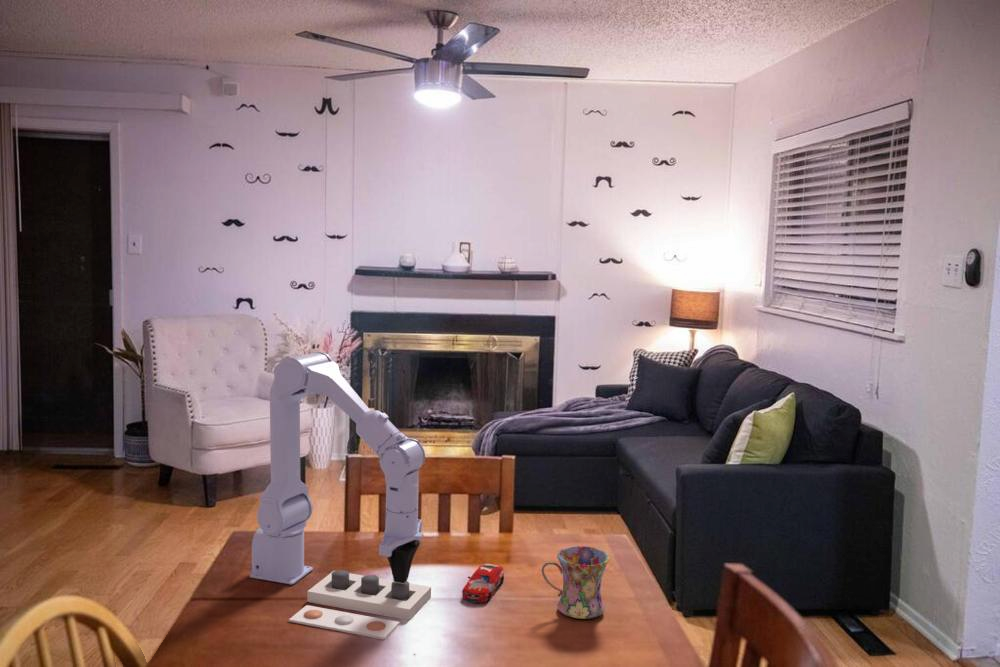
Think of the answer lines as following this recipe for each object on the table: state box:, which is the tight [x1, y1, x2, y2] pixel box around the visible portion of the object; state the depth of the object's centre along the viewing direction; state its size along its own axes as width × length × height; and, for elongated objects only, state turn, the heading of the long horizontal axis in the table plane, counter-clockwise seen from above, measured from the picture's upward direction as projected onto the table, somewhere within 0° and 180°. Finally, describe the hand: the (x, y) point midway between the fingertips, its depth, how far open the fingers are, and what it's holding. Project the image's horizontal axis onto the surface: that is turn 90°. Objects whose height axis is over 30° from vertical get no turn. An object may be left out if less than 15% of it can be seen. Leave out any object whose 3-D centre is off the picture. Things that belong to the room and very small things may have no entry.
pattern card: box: [288, 604, 400, 641], centre depth 152 cm, size 18×6×1 cm, turn 73°
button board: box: [306, 570, 432, 621], centre depth 162 cm, size 20×10×2 cm, turn 73°
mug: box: [541, 545, 610, 620], centre depth 159 cm, size 12×9×11 cm
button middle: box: [361, 574, 380, 596], centre depth 161 cm, size 3×3×2 cm
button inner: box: [331, 569, 350, 591], centre depth 163 cm, size 3×3×2 cm
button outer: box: [391, 580, 410, 601], centre depth 160 cm, size 3×3×2 cm
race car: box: [461, 563, 505, 603], centre depth 168 cm, size 13×5×4 cm, turn 161°
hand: (400, 580), depth 159 cm, fingers closed
